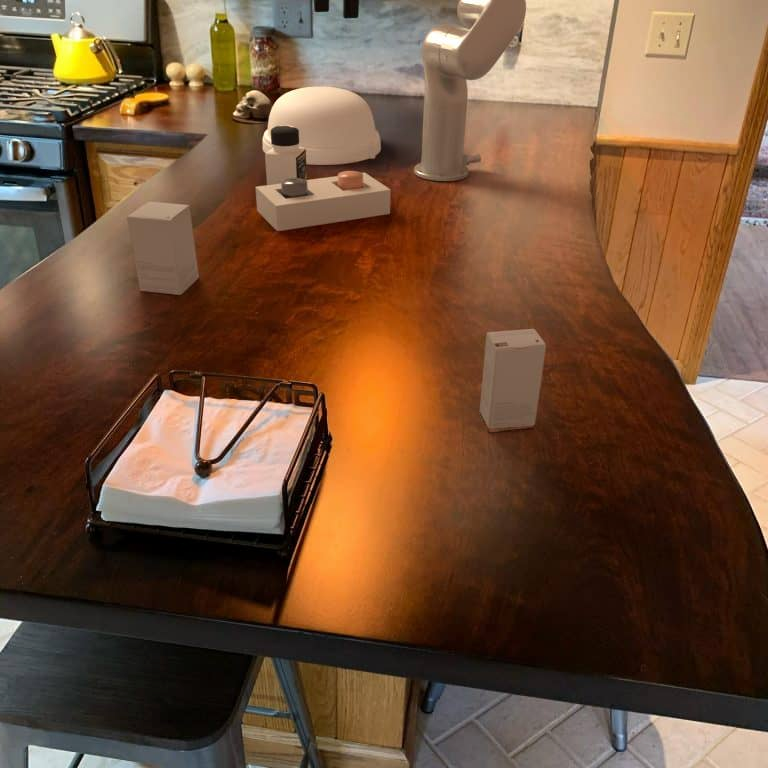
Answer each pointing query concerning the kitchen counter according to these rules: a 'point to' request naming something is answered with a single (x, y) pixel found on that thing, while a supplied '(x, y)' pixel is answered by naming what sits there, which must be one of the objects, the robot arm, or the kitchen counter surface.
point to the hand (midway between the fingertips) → (335, 14)
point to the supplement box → (163, 247)
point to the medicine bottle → (285, 155)
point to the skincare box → (512, 378)
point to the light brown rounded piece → (350, 180)
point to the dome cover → (327, 125)
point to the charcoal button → (294, 188)
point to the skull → (253, 108)
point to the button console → (322, 203)
